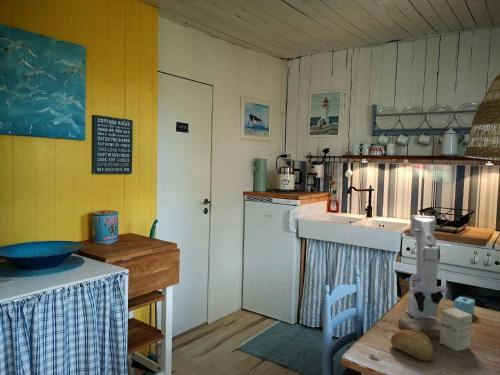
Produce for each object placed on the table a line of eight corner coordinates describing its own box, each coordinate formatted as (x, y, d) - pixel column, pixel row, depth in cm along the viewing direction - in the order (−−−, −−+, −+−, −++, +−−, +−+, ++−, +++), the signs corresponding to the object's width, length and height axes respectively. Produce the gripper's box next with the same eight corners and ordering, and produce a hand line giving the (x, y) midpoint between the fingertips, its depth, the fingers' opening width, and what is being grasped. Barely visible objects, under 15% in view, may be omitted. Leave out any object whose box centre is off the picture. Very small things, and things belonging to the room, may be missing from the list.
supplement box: (438, 342, 146) (440, 309, 145) (452, 339, 149) (455, 307, 148) (456, 352, 139) (458, 317, 138) (470, 348, 142) (473, 314, 141)
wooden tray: (398, 325, 161) (398, 318, 160) (432, 323, 163) (432, 316, 162) (414, 338, 149) (414, 331, 149) (450, 337, 151) (451, 329, 151)
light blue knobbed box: (465, 320, 167) (467, 303, 166) (450, 316, 171) (451, 299, 170) (474, 313, 175) (476, 296, 175) (460, 309, 179) (461, 293, 179)
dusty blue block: (417, 311, 157) (418, 299, 157) (429, 311, 158) (429, 299, 157) (424, 317, 152) (425, 304, 152) (436, 316, 153) (437, 304, 153)
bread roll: (398, 341, 147) (399, 320, 146) (439, 357, 136) (440, 335, 135) (384, 349, 141) (386, 327, 140) (426, 366, 129) (427, 343, 129)
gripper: (417, 280, 149) (415, 315, 150) (452, 279, 151) (450, 314, 152) (407, 274, 156) (405, 308, 157) (441, 274, 158) (439, 306, 159)
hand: (427, 310), depth 155 cm, fingers closed on dusty blue block, 5 cm apart
